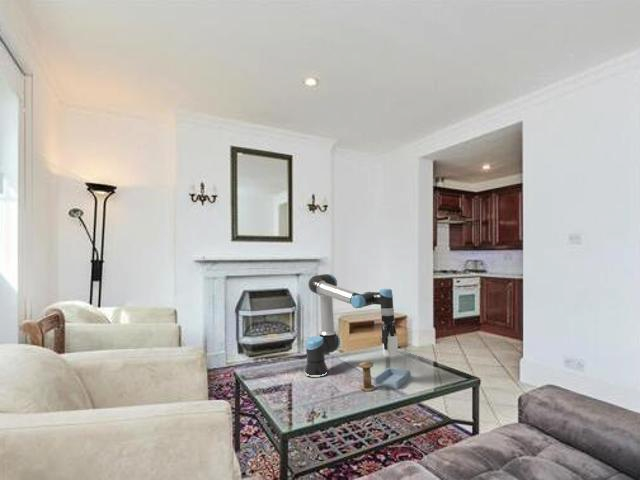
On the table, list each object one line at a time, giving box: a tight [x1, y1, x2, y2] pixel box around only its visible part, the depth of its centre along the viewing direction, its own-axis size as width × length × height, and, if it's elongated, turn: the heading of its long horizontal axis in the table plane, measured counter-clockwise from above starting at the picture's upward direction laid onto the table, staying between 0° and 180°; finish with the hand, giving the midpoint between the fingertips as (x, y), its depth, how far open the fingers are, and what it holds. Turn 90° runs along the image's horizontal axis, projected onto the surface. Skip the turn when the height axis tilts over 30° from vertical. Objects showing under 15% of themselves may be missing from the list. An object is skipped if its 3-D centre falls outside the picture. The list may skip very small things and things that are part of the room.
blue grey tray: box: [373, 367, 412, 390], centre depth 207 cm, size 14×20×4 cm
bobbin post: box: [358, 361, 376, 392], centre depth 198 cm, size 8×8×14 cm
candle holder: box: [380, 333, 399, 358], centre depth 207 cm, size 10×10×12 cm
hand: (390, 352), depth 206 cm, fingers closed on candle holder, 9 cm apart
